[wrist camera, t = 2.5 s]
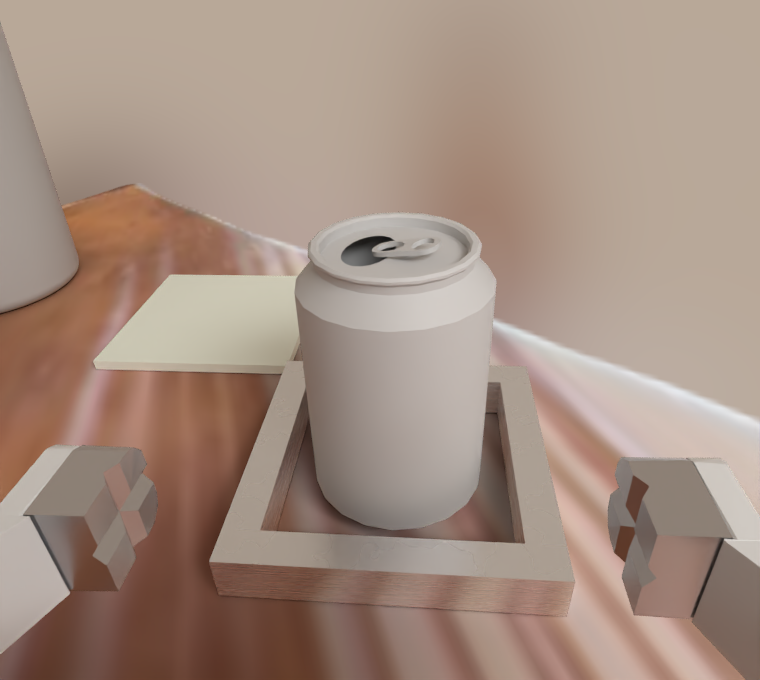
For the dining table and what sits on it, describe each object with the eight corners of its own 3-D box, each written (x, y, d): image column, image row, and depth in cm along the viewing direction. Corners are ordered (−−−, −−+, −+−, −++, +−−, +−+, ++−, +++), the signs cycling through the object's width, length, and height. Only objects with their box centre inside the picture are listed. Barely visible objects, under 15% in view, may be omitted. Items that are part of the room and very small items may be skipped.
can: (358, 412, 31) (344, 194, 25) (495, 446, 29) (520, 213, 22) (287, 514, 25) (246, 264, 19) (452, 568, 23) (468, 300, 16)
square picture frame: (218, 595, 22) (209, 561, 21) (291, 389, 33) (287, 360, 32) (566, 616, 21) (575, 582, 20) (522, 396, 32) (526, 366, 31)
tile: (95, 369, 35) (93, 361, 35) (171, 281, 46) (170, 274, 45) (288, 374, 34) (287, 365, 34) (322, 283, 44) (321, 276, 44)
